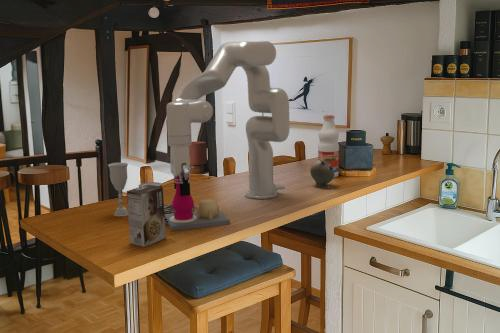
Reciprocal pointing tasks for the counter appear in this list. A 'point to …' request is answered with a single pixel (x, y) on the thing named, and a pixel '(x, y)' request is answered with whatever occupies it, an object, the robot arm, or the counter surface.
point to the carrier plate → (200, 217)
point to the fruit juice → (329, 144)
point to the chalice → (119, 183)
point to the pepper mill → (182, 203)
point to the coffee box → (146, 215)
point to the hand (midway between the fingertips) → (182, 192)
